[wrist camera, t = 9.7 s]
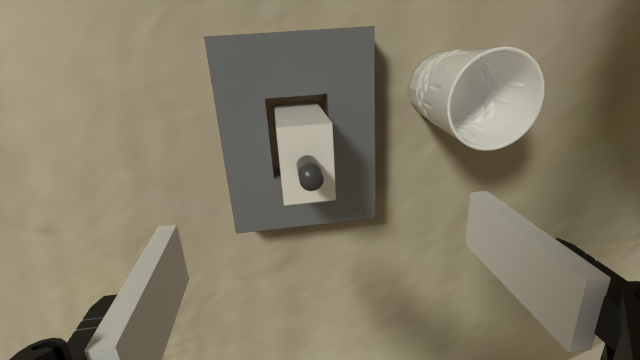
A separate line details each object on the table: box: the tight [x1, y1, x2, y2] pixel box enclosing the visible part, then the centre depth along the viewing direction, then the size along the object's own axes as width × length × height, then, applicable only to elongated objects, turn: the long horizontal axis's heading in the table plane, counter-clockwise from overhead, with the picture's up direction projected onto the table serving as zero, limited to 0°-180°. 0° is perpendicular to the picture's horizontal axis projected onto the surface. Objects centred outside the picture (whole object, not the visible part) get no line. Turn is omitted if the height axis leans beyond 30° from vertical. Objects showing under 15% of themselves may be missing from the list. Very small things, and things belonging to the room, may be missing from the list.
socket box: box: [204, 26, 375, 234], centre depth 35 cm, size 18×14×4 cm
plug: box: [274, 102, 336, 205], centre depth 30 cm, size 6×4×13 cm, turn 4°
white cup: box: [409, 47, 545, 151], centre depth 33 cm, size 8×8×10 cm
